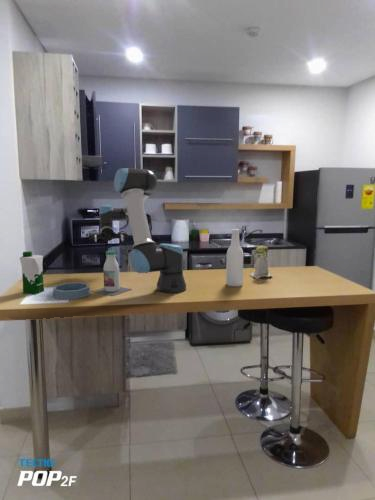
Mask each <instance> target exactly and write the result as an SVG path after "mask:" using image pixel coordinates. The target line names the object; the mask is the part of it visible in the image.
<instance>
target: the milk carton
mask: <svg viewBox="0 0 375 500" xmlns="http://www.w3.org/2000/svg"><path fill="white" fill-rule="evenodd" d="M43 259H44V255H41V254H33V252H32V251H23V252H22V256H20V257H19V261H20V264H21V273H22V294H24V295H25V294H27V295H38V294H39V293H42V292H44V291H45V286H44V284H45V283H44V274H43V273H44V269H43Z"/></svg>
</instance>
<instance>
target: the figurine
mask: <svg viewBox="0 0 375 500" xmlns="http://www.w3.org/2000/svg"><path fill="white" fill-rule="evenodd" d="M268 252H269V247H268V246H265V245H259V246H257V247H256V248H255V249H254V256H256V257H257V258H256V260H255V263H254V266H253V267H254V268H253V269H254V270H255V271H254V272H251V271H250V273H249V276H250V277H251V278H254V279H257V280H258V279H260V278H263V277H267V278H270V277H273V273H269V266H268V260H267V257H268Z"/></svg>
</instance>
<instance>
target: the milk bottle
mask: <svg viewBox="0 0 375 500" xmlns="http://www.w3.org/2000/svg"><path fill="white" fill-rule="evenodd" d="M105 256H106V258H105V262H104V264H103V270H102V271H103V288H104V291H106V292H115V291H119V289H120V287H121V286H120V284H121V283H120V266H119V263H118V261H117V259H116V250H106V251H105Z"/></svg>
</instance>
